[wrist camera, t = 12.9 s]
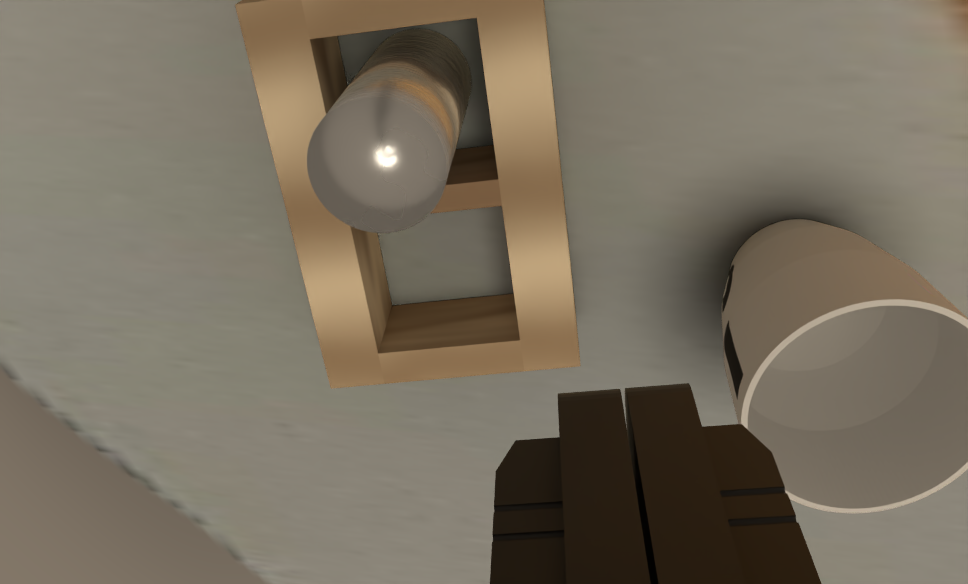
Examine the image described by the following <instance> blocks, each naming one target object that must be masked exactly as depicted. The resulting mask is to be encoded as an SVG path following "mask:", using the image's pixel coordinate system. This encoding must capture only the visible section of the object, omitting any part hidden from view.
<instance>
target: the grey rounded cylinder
mask: <svg viewBox="0 0 968 584" xmlns="http://www.w3.org/2000/svg"><path fill="white" fill-rule="evenodd" d="M471 89H472V78H471V72H470V68H469V65H468V62H467V60H466V58H465V56H464V55H463V53H462V52H461V50H460V49H459V48H458V47H457V46H456V45H455V44H454V43H453V42H452V41H451V40H450V39H448V38H447V37H445V36H443V35H441V34H440V33H437V32H434V31H431V30H427V29H408V30H403V31H400V32H398V33H396V34H394V35H392V36H390V37H389V38H387V39H386V40H385V41H384V42H383V43H381V45H380V46H379V47H378V48H377V49H376V51H375V52H374V53H373V55H372V56H371V57H370V58H369V60H368V61H367V62H366V64H365V65H364V66H363V67H362V69H361V70H360V71H359V73H358V74H357V75H356V76H355V78H354V79H353V80H352V82H351V83H350V84H349V86H348V87H347V88H346V89H345V91H344V92H343V93H342V95H341V96H340V97H339V98H338V100H337V101H336V102H335V104H334V105H333V106H332V107H331V109H330V110H329V111H328V113H327V114H326V115H325V116H324V118H323V119H322V120H321V122H320V123H319V124H318V126H317V127H316V129H315V131H314V132H313V135H312V137H311V139H310V142H309V146H308V151H307V170H308V176H309V179H310V183H311V185H312V188H313V190H314V192H315V194H316V195H317V197H318V199H319V200H320V202H321V203H322V204H323V205H324V207H325V208H326V209H327V210H328V211H329V212H330V213H331V214H333V215H334V216H335V217H336V218H337V219H339V220H341V221H342V222H344V223H345V224H347V225H349V226H352V227H354V228H357V229H360V230H363V231H367V232H373V233H391V232H397V231H401V230H404V229H407V228H409V227H412V226H414V225H415V224H417V223H419V222H420V221H422V220H423V219H424V218H425V217H427V216H428V215H429V214H430V213H431V212H432V211H433V209H434V208H435V207H436V205H437V204H438V202H439V200H440V198H441V196H442V194H443V191H444V188H445V185H446V182H447V178H448V174H449V171H450V167H451V164H452V160H453V156H454V153H455V149H456V146H457V142H458V138H459V135H460V131H461V128H462V124H463V120H464V117H465V113H466V110H467V106H468V102H469V99H470V95H471Z"/></svg>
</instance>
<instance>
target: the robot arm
mask: <svg viewBox="0 0 968 584" xmlns="http://www.w3.org/2000/svg"><path fill="white" fill-rule="evenodd" d="M625 407H626V422H625V416H624V409H623V403H622V396H621V391H620V389H612V390H599V391H586V392H573V393H560V394H558V412H559V433H560V437H558V438H544V439H530V440H516V441H515V442H514V444H513V445H512V447H511V449H510V450H509V452H508V453H507V455H506V456H505V458H504V459H503V461H502V463H501V464H500V466H499V467H498V469H497V470H496V479H495V498H494V510H495V512H494V517H493V542H492V556H491V575H490V584H821V581H820V579H819V576H818V573H817V571H816V568H815V565H814V563H813V560H812V557H811V555H810V552H809V549H808V547H807V544H806V541H805V539H804V536H803V534H802V531H801V528H800V526H799V523H797V522H796V515H795V512H794V510H793V507H792V504H791V502H790V499H789V496H788V494H787V493H785V486H784V483H783V480H782V478H781V475H780V472H779V470H778V467H777V464H776V462H775V459H774V456H773V454H772V452H771V451H770V450H769V449H768V448H767V447H766V446H765V445H764V444H763V443H762V442H761V441H759V440H758V439H757V438H756V437H755V436H754V435H753V434H752V433H751V432H750V431H749V430H748V429H746V428H745V427H744V426H743V425H742V424H735V425H721V426H707V427H702V425H701V422H700V418H699V415H698V411H697V407H696V404H695V400H694V397H693V393H692V390H691V387H690V385H689V383H687V384H674V385H661V386H648V387H635V388H625ZM626 423H627V428H626Z"/></svg>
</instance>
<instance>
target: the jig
mask: <svg viewBox="0 0 968 584" xmlns="http://www.w3.org/2000/svg"><path fill="white" fill-rule="evenodd" d="M235 6H236V10H237V14H238V18H239V22H240V26H241V30H242V34H243V38H244V42H245V46H246V50H247V54H248V58H249V62H250V66H251V70H252V74H253V78H254V82H255V86H256V90H257V94H258V98H259V102H260V106H261V110H262V114H263V118H264V122H265V126H266V130H267V134H268V138H269V142H270V146H271V150H272V154H273V158H274V162H275V166H276V170H277V175H278V179H279V183H280V187H281V191H282V195H283V199H284V203H285V207H286V211H287V215H288V219H289V223H290V227H291V231H292V235H293V239H294V243H295V247H296V251H297V255H298V259H299V263H300V267H301V271H302V275H303V279H304V283H305V287H306V291H307V295H308V299H309V303H310V307H311V311H312V315H313V319H314V323H315V327H316V331H317V335H318V339H319V343H320V347H321V351H322V355H323V359H324V363H325V367H326V371H327V375H328V379H329V383H330V387H331V388H342V387H353V386H364V385H375V384H386V383H398V382H409V381H420V380H431V379H442V378H453V377H465V376H476V375H487V374H498V373H509V372H520V371H532V370H543V369H554V368H565V367H576V366H580V356H579V345H578V333H577V322H576V312H575V302H574V292H573V282H572V272H571V263H570V253H569V243H568V233H567V223H566V213H565V203H564V194H563V184H562V174H561V164H560V154H559V144H558V134H557V124H556V115H555V105H554V95H553V85H552V75H551V65H550V55H549V46H548V36H547V26H546V16H545V6H544V0H242V1H240V2H239V3H237V4H235ZM470 18H477V23H478V31H479V38H480V46H481V53H482V60H483V68H484V75H485V83H486V90H487V98H488V105H489V112H490V120H491V127H492V135H493V142H494V145H490V146H482V147H473V148H464V149H456V150H455V153H454V156H453V160H452V164H451V167H450V171H449V174H448V178H447V182H446V185H445V188H444V191H443V194H442V196H441V198H440V200H439V202H438V204H437V205H436V207H435V208H434V209H433V211H432V212H431V213H439V212H448V211H458V210H467V209H476V208H485V207H494V206H502V209H503V216H504V224H505V231H506V239H507V246H508V254H509V261H510V268H511V276H512V283H513V291H514V294H506V295H496V296H486V297H476V298H466V299H456V300H445V301H435V302H425V303H415V304H405V305H395V306H392V303H391V298H390V293H389V288H388V283H387V279H386V274H385V269H384V264H383V259H382V254H381V249H380V244H379V239H378V234H377V233H373V232H367V231H363V230H360V229H357V228H354V227H352V226H349V225H347V224H345V223H344V222H342V221H341V220H339V219H337V218H336V217H335V216H334V215H333V214H331V213H330V212H329V211H328V210H327V209H326V208H325V207H324V205H323V204H322V203H321V202H320V200H319V199H318V197H317V195H316V194H315V192H314V190H313V188H312V185H311V183H310V179H309V176H308V170H307V151H308V146H309V142H310V139H311V137H312V135H313V132H314V131H315V129H316V127H317V126H318V124H319V123H320V122H321V120H322V119H323V118H324V116H325V115H326V114H327V113H328V111H329V110H330V109H331V107H332V106H333V105H334V104H335V102H336V101H337V100H338V98H339V97H340V96H341V95H342V93H343V92H344V91H345V89H346V88H347V82H346V77H345V72H344V68H343V63H342V58H341V53H340V48H339V43H338V38H337V36H339V35H347V34H354V33H362V32H370V31H377V30H385V29H393V28H401V27H408V26H416V25H424V24H431V23H439V22H447V21H454V20H462V19H470Z"/></svg>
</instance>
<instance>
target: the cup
mask: <svg viewBox="0 0 968 584" xmlns="http://www.w3.org/2000/svg"><path fill="white" fill-rule="evenodd" d="M722 330H723V349H724V365H725V371H726V375H727V379H728V383H729V387H730V391H731V395H732V399H733V403H734V407H735V411H736V415H737V419H738V423H739V424H742V425H743V426H744V427H745V428H746V429H748V430H749V431H750V432H751V433H752V434H753V435H754V436H755V437H756V438H757V439H758V440H759V441H761V442H762V443H763V444H764V445H765V446H766V447H767V448H768V449H769V450H770V451H771V452H772V454H773V456H774V459H775V462H776V464H777V467H778V470H779V472H780V475H781V478H782V480H783V483H784V486H785V493H787V494H788V496H789V499H791V500H793V501H795V502H798V503H800V504H803V505H806V506H808V507H812V508H815V509H819V510H824V511H830V512H838V513H867V512H876V511H882V510H887V509H892V508H896V507H899V506H903V505H906V504H909V503H912V502H914V501H917V500H919V499H922V498H924V497H926V496H928V495H930V494H932V493H934V492H936V491H938V490H939V489H941V488H943V487H944V486H946V485H947V484H949V483H950V482H952V481H953V480H955V479H956V478H957V477H959V476H960V475H961V474H962V473H963V472H965V471H966V470H967V469H968V318H967V317H966V316H965V315H964V314H963V313H962V312H960V311H959V310H958V309H957V308H956V307H955V306H954V305H953V304H952V303H951V302H950V301H948V300H947V299H946V298H945V297H944V296H943V295H942V294H941V293H940V292H939V291H938V290H936V289H935V288H934V287H933V286H932V285H931V284H930V283H929V282H928V281H927V280H925V279H924V278H923V277H922V276H921V275H920V274H919V273H918V272H917V271H915V270H914V269H913V268H911V267H910V266H908V265H907V264H905V263H903V262H902V261H900V260H899V259H897V258H895V257H894V256H892V255H891V254H889V253H887V252H886V251H884V250H882V249H881V248H879V247H878V246H876V245H874V244H873V243H871V242H870V241H868V240H866V239H865V238H863V237H861V236H860V235H858V234H856V233H853V232H851V231H848V230H845V229H841V228H838V227H834V226H831V225H827V224H823V223H820V222H816V221H812V220H806V219H792V220H785V221H781V222H777V223H774V224H771V225H769V226H767V227H765V228H763V229H761V230H759V231H758V232H756V233H755V234H754V235H752V236H751V237H750V238H749V239H748V240H747V241H746V242H745V243H744V244H743V245H742V246H741V248H740V249H739V250H738V252H737V253H736V255H735V257H734V259H733V261H732V264H731V267H730V271H729V275H728V279H727V283H726V287H725V291H724V295H723V299H722Z"/></svg>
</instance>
